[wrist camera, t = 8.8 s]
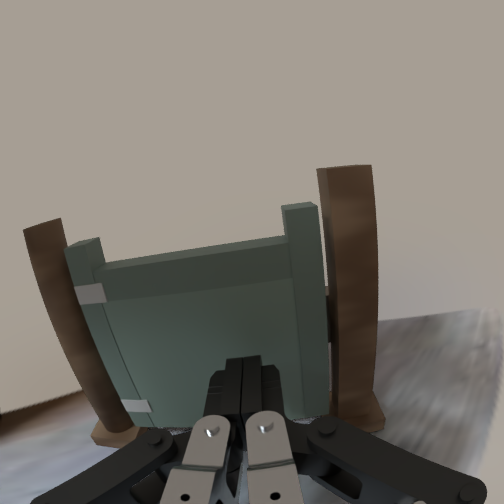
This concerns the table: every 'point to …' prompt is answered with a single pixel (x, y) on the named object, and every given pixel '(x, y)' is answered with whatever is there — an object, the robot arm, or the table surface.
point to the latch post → (351, 292)
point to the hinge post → (77, 334)
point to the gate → (209, 319)
